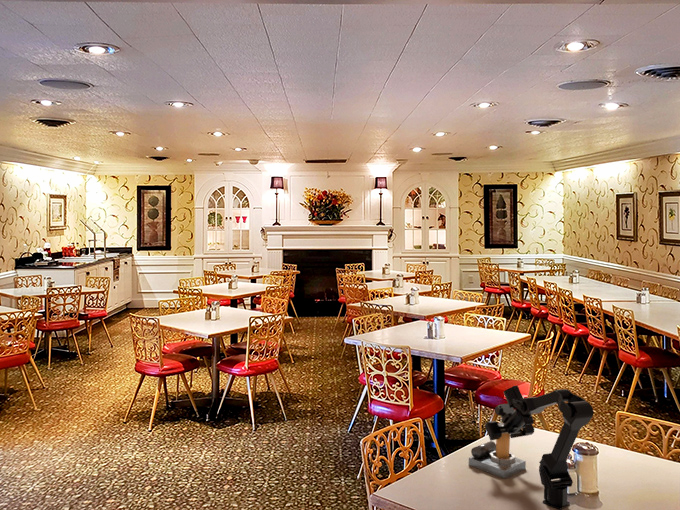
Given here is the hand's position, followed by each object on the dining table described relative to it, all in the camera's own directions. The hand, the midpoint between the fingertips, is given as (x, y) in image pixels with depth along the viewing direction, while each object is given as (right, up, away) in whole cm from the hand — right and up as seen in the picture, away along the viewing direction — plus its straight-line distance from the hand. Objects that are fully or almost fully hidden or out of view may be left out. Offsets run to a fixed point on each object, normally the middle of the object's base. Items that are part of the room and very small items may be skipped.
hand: (500, 438), depth 222 cm
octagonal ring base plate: (-2, -11, -1) cm, 11 cm away
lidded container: (0, -8, -1) cm, 8 cm away
